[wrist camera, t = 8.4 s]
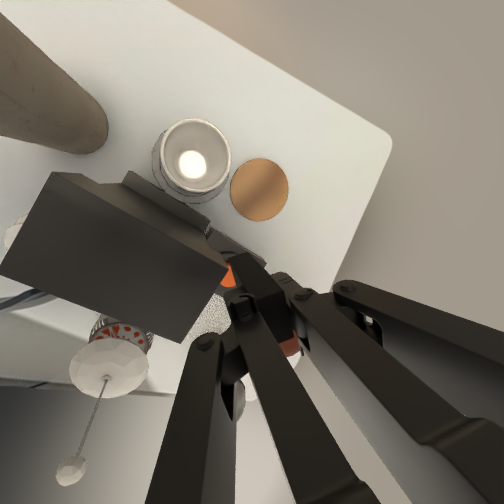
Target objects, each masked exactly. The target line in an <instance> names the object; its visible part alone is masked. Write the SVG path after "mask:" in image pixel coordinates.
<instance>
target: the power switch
mask: <svg viewBox="0 0 504 504" xmlns="http://www.w3.org/2000/svg"><path fill="white" fill-rule="evenodd" d="M206 239H207V242H208V244H209V247H210V248H212V249H213V250H215V251H217V252H219V253H220V254H221V255H222V257H223V259H224V261H225V262H226V263H227V262H229V260H228V258H229V257H232V256H235V255H238V254H241V253H244V252H247V251H248V252H249V253H250V254H251V255H252V256H253V257H254V258H255V259H256V260H257V262H258V263H259V264H260V265H261V266H262V267H263V268H264V267H265V265H266V264H267V263H266V262H265V261H264V260H263V259H262V258H260V257H259V256H257V255H255V254H254V253H252V252H250V251H249V250H247V249H246V248H244V247H242V246H241V245H239V244H237V243H236V242H234V241H232V240H231V239H229V238H228V237H226V236H224V235H223V234H221V233H219V232H218V231H216V230H214V229H213V228H211V229H210V230H209V232H208V234H207V235H206ZM234 288H237V287H236V285H235V286H233V287H225V286H223V285H221V284H220V285H219V286H218V288H217V289H216V291H215V292H214V293H215V294H217V295H219V296H221V297H223V296H224V294H225V292H226V291H229V290H231V289H234Z"/></svg>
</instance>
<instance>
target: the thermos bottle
mask: <svg viewBox="0 0 504 504" xmlns="http://www.w3.org/2000/svg"><path fill="white" fill-rule="evenodd" d="M107 134H108V122H107V118H106V115H105V113H104V111H103V109H102V107H101V106H100V105H99V103H98V102H97V101H96V100H95V99H94V98H93V97H92V96H91V95H90V94H89V93H88V92H87V91H85V90H84V89H83V88H82V87H81V86H80V85H79V84H78V83H77V82H76V81H75V80H73V79H72V78H71V77H70V76H69V75H68V74H67V73H66V72H65V71H64V70H62V69H61V68H60V67H59V66H58V65H56V64H55V63H54V62H53V61H52V60H51V59H50V58H49V57H48V56H47V55H46V54H45V53H44V52H43V51H42V50H41V49H40V48H38V47H37V46H36V45H35V44H34V43H33V42H32V41H31V40H30V39H29V38H28V37H27V36H26V35H24V34H23V33H22V32H21V31H20V30H19V29H18V28H17V27H16V26H15V25H14V24H12V23H11V22H10V21H9V20H8V19H7V18H6V17H5V16H4V15H3V14H2V13H0V135H1V136H5V137H9V138H13V139H17V140H21V141H25V142H30V143H36V144H39V145H42V146H46V147H50V148H53V149H57V150H61V151H65V152H69V153H74V154H87V153H91V152H93V151H95V150H97V149H98V148H100V147H101V146H102V145H103V143H104V142H105V140H106V137H107Z"/></svg>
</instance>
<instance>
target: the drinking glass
mask: <svg viewBox="0 0 504 504" xmlns="http://www.w3.org/2000/svg"><path fill="white" fill-rule="evenodd" d="M160 158H161V163H162V166H163V168H164V170H165V172H166V174H167V176H168V177H169V178H170V180H171V181H172V182H173V183H174V184H176V185H177V186H178V187H180V188H182V189H184V190H186V191H190V192H196V193H199V192H207V191H210V190H212V189H214V188H216V187H217V186H219V185H220V184H221V183H222V182H223V181H224V179H225V178H226V176H227V174H228V172H229V169H230V165H231V152H230V148H229V145H228V142H227V140H226V138H225V137H224V135H223V134H222V133H221V131H220V130H219V129H218V128H217V127H215V126H214V125H213V124H211V123H209V122H207V121H205V120H202V119H197V118H189V119H184V120H181V121H178V122H176V123H175V124H173V125H172V126H171V127H170V128H169V129H168V130H167V132H166V133H165V135H164V137H163V139H162V142H161V146H160Z"/></svg>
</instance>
